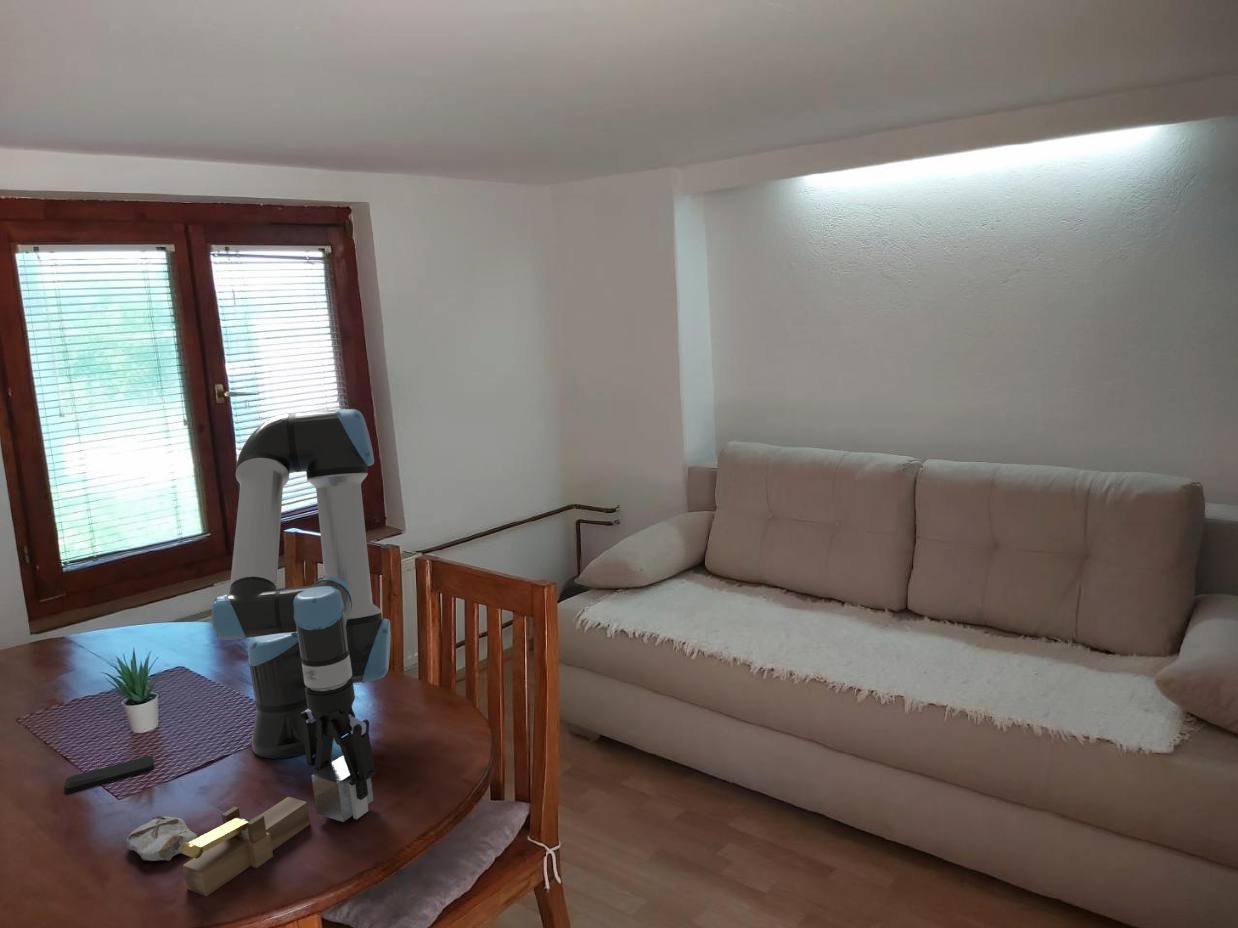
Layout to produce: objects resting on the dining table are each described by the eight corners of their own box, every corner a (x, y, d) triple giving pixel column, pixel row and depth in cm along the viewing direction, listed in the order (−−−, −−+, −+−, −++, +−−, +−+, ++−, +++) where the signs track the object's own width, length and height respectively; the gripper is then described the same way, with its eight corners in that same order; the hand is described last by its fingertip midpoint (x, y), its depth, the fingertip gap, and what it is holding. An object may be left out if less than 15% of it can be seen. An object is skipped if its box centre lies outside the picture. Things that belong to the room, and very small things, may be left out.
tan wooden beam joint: (181, 886, 139) (173, 843, 138) (285, 816, 156) (280, 777, 155) (212, 898, 135) (205, 855, 134) (316, 825, 153) (310, 786, 151)
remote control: (154, 762, 179) (65, 784, 172) (153, 754, 179) (64, 775, 172) (155, 773, 175) (64, 795, 168) (154, 765, 175) (63, 786, 168)
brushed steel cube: (316, 813, 153) (311, 775, 152) (347, 792, 159) (342, 755, 158) (343, 821, 150) (337, 782, 149) (373, 799, 156) (368, 762, 155)
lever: (238, 822, 146) (177, 854, 136) (237, 812, 145) (177, 844, 136) (255, 828, 144) (195, 861, 134) (254, 818, 144) (194, 850, 134)
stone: (118, 847, 151) (114, 829, 150) (174, 820, 157) (171, 803, 157) (150, 874, 143) (147, 855, 142) (207, 844, 150) (204, 826, 149)
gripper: (270, 682, 152) (289, 809, 156) (354, 701, 143) (372, 835, 147) (305, 664, 158) (322, 787, 163) (388, 681, 149) (404, 810, 154)
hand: (346, 809), depth 155 cm, fingers closed on brushed steel cube, 6 cm apart
